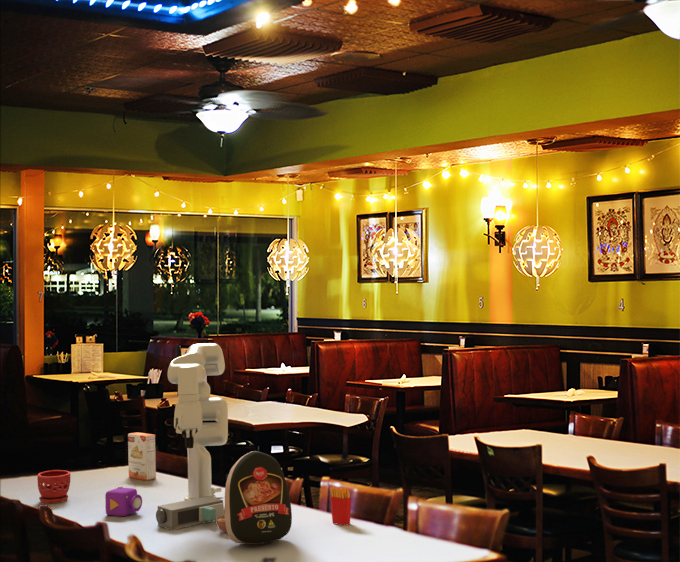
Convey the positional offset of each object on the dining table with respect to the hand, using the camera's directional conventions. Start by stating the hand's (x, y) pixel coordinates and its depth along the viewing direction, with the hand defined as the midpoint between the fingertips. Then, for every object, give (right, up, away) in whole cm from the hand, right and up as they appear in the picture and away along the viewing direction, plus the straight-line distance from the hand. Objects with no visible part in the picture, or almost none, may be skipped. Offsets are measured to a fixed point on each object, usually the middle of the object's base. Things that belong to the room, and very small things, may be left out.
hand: (189, 447), depth 321 cm
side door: (+11, -25, -6) cm, 28 cm away
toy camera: (-27, -28, +12) cm, 41 cm away
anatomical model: (+23, -27, -14) cm, 38 cm away
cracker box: (-37, -31, +84) cm, 97 cm away
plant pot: (-63, -30, +37) cm, 79 cm away
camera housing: (+1, -27, -3) cm, 27 cm away
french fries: (+57, -26, -10) cm, 63 cm away
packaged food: (+29, -26, -33) cm, 51 cm away
